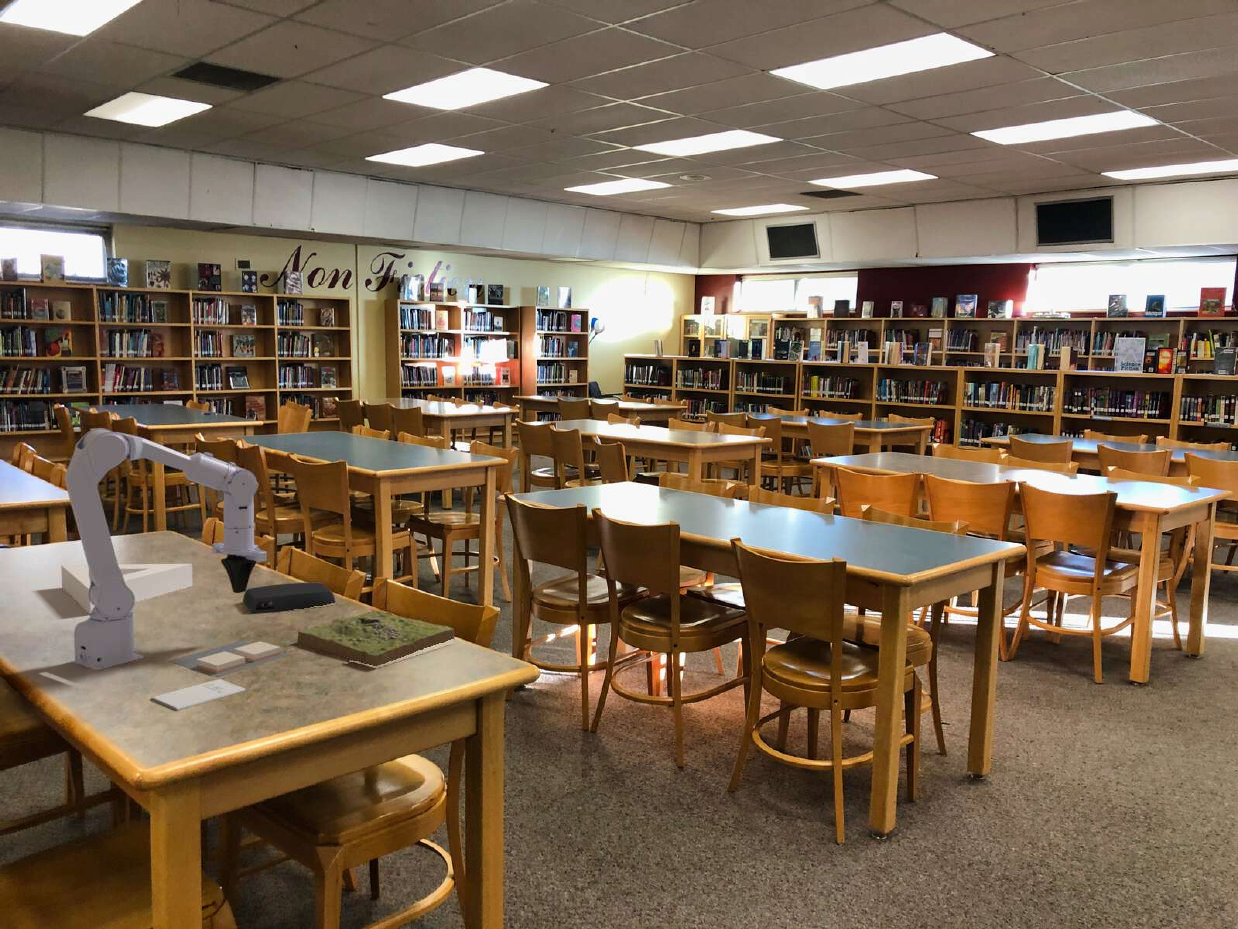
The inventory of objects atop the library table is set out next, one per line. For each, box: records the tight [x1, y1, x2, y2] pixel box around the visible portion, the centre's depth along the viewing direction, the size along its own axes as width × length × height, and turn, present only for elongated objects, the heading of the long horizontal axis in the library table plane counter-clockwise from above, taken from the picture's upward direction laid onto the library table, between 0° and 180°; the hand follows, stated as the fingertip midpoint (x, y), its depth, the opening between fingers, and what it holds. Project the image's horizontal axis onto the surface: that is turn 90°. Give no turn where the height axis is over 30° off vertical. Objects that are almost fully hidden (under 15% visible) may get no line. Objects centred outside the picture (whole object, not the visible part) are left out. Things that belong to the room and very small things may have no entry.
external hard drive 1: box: [150, 678, 246, 712], centre depth 158 cm, size 2×8×12 cm
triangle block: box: [60, 563, 193, 615], centre depth 224 cm, size 30×26×6 cm
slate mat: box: [168, 640, 291, 678], centre depth 178 cm, size 16×15×1 cm
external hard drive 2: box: [242, 581, 337, 615], centre depth 220 cm, size 13×19×4 cm
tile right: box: [234, 640, 281, 662], centre depth 180 cm, size 6×2×6 cm
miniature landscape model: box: [296, 610, 455, 666], centre depth 191 cm, size 22×24×5 cm
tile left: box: [197, 651, 245, 673], centre depth 173 cm, size 6×2×6 cm
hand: (239, 591), depth 189 cm, fingers closed
